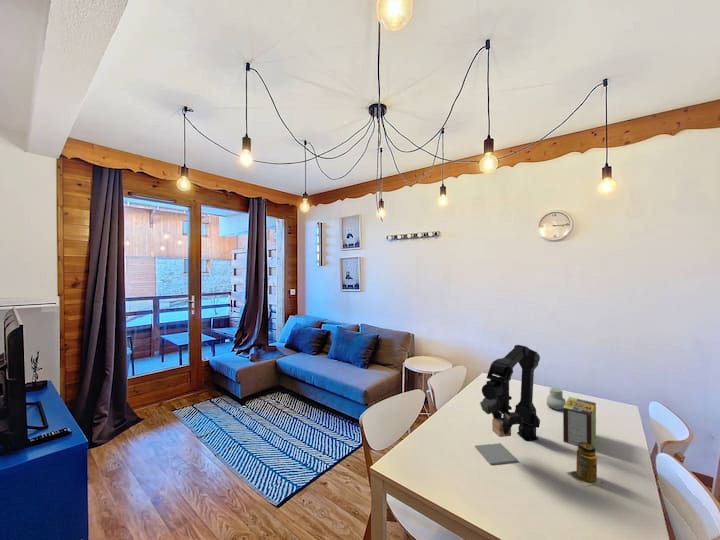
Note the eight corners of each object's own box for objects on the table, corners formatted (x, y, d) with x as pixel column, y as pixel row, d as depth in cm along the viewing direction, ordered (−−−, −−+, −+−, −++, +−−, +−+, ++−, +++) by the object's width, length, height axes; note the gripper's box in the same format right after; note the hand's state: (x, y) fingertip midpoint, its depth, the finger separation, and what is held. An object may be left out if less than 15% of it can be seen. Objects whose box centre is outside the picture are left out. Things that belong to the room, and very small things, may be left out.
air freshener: (548, 402, 176) (548, 384, 175) (565, 405, 171) (565, 388, 171) (546, 409, 167) (546, 391, 167) (564, 413, 162) (564, 394, 162)
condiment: (603, 482, 110) (603, 449, 110) (584, 486, 108) (584, 453, 108) (584, 469, 117) (584, 438, 117) (566, 473, 115) (565, 441, 115)
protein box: (596, 436, 140) (596, 402, 140) (591, 451, 129) (591, 414, 129) (568, 428, 147) (568, 396, 147) (562, 441, 136) (562, 406, 136)
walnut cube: (503, 429, 128) (503, 417, 128) (511, 435, 123) (511, 423, 123) (492, 430, 127) (492, 418, 127) (499, 437, 122) (499, 424, 122)
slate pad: (500, 444, 134) (500, 443, 134) (518, 461, 122) (518, 460, 122) (474, 446, 132) (474, 445, 132) (490, 464, 121) (490, 463, 121)
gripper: (471, 385, 133) (471, 421, 133) (497, 404, 115) (497, 445, 115) (494, 383, 135) (494, 418, 135) (523, 402, 116) (524, 442, 116)
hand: (501, 430), depth 125 cm, fingers closed on walnut cube, 5 cm apart
